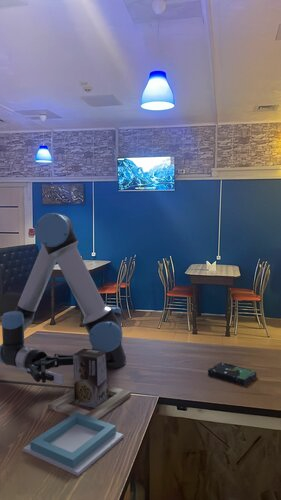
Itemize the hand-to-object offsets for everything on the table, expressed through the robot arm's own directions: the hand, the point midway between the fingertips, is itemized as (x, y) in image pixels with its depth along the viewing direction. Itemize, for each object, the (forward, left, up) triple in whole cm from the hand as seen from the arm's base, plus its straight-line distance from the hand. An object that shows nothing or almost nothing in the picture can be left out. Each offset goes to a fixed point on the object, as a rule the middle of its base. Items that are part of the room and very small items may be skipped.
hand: (77, 372), depth 120 cm
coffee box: (+5, +1, -9) cm, 10 cm away
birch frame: (+5, +1, -9) cm, 10 cm away
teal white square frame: (+16, -19, -9) cm, 26 cm away
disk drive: (+37, +44, -10) cm, 58 cm away
